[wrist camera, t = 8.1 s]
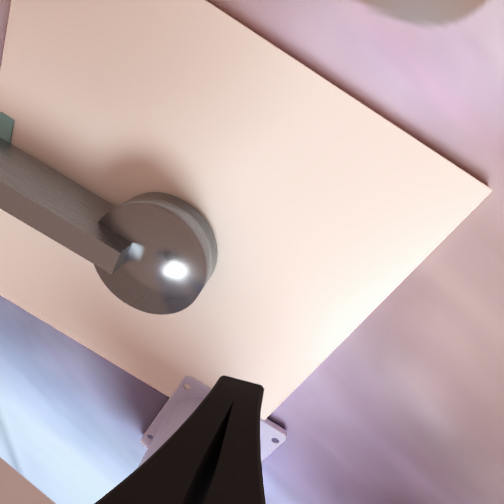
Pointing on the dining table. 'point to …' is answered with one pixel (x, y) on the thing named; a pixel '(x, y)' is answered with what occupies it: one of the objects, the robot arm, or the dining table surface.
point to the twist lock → (115, 233)
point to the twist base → (215, 187)
